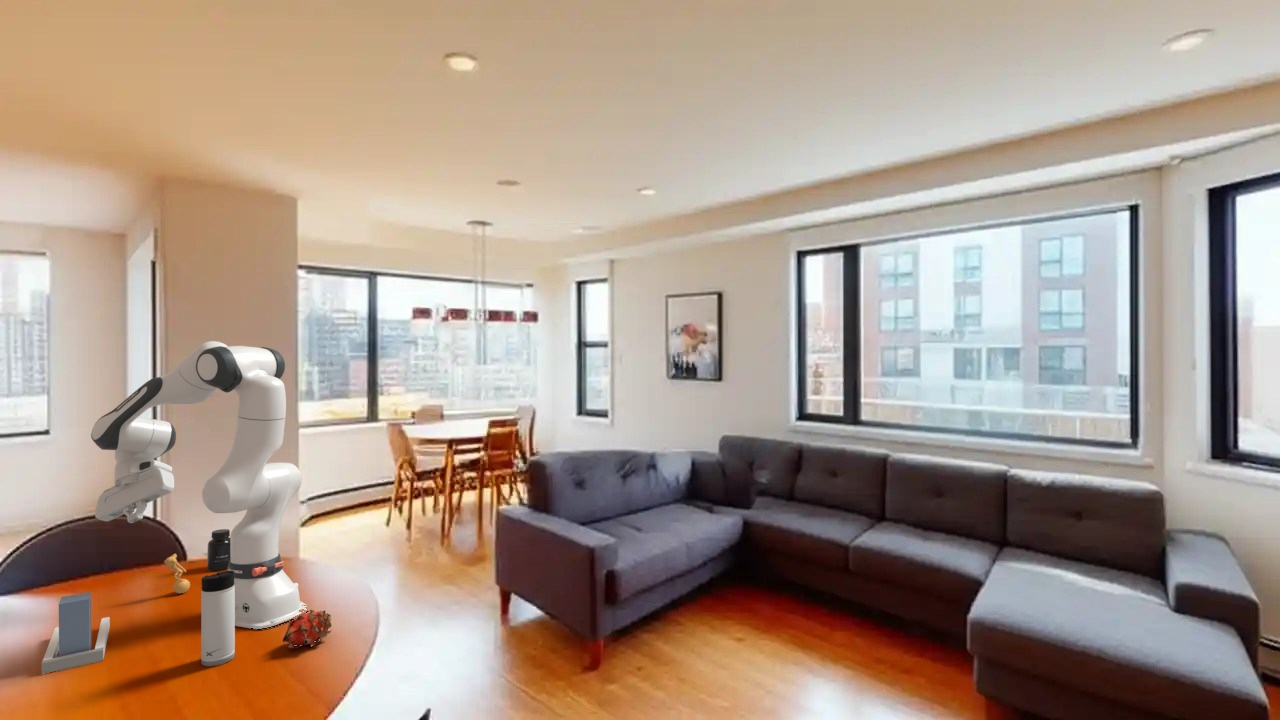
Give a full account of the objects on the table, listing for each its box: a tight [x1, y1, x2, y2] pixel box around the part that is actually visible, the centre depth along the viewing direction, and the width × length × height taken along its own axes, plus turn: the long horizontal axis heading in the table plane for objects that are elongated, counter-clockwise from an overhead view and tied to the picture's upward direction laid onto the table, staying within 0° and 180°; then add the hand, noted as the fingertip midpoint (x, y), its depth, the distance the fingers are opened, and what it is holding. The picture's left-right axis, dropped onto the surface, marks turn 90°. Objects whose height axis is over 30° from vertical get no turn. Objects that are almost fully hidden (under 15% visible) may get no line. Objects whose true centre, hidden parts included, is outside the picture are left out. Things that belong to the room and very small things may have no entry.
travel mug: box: [200, 570, 236, 667], centre depth 139 cm, size 6×7×20 cm
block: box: [58, 591, 92, 657], centre depth 139 cm, size 5×5×14 cm
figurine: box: [163, 553, 191, 595], centre depth 176 cm, size 8×6×12 cm
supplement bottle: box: [206, 528, 231, 572], centre depth 198 cm, size 7×7×12 cm
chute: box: [41, 616, 111, 675], centre depth 144 cm, size 22×10×2 cm, turn 38°
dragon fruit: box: [282, 608, 332, 649], centre depth 147 cm, size 8×8×12 cm
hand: (135, 520), depth 168 cm, fingers closed
